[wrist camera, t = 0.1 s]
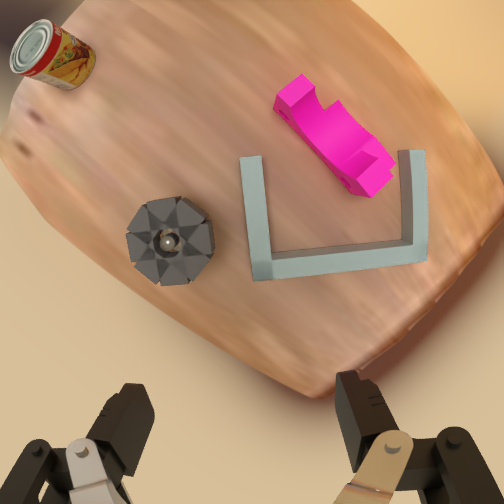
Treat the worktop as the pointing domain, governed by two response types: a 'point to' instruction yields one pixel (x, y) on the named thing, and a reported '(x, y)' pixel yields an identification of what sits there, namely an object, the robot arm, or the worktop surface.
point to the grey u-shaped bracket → (338, 256)
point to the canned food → (52, 56)
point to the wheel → (181, 222)
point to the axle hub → (170, 240)
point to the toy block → (335, 138)
